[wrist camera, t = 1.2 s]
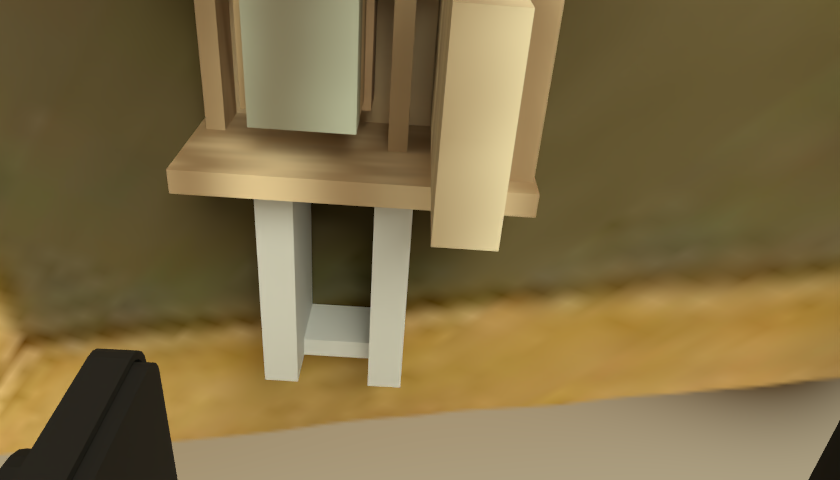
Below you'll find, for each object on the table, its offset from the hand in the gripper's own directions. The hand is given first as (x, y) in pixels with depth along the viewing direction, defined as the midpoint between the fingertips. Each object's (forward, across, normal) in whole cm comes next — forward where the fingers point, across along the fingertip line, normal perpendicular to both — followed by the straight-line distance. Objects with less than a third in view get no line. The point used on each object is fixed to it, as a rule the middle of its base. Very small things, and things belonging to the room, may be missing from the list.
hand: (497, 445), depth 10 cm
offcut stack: (+23, +5, 0) cm, 23 cm away
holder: (+24, +4, +11) cm, 27 cm away
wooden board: (+23, -1, 0) cm, 23 cm away
